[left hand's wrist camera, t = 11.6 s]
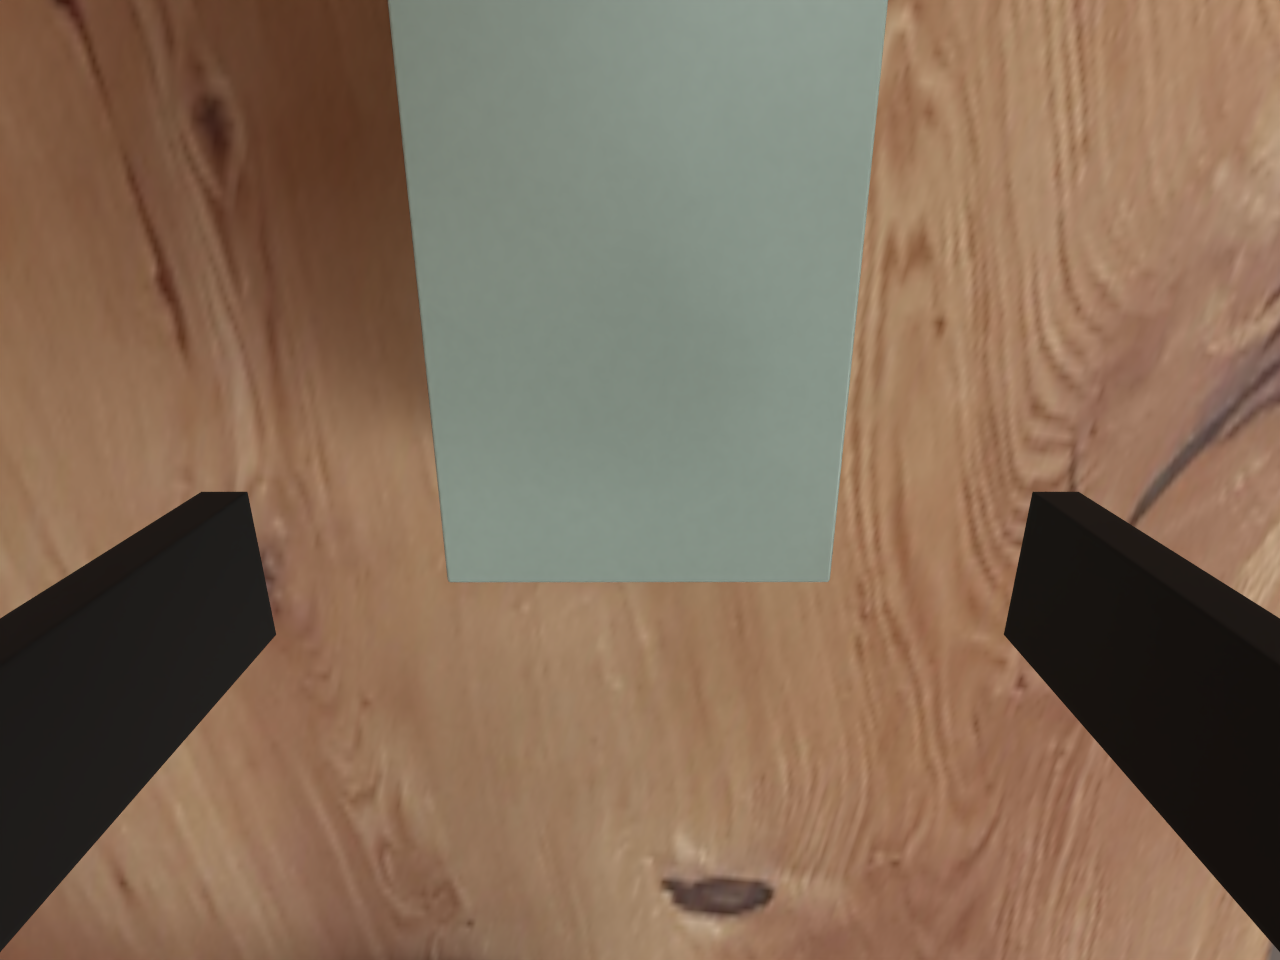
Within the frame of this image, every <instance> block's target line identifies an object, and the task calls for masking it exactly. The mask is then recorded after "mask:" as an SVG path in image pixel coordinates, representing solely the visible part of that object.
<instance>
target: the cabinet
mask: <svg viewBox="0 0 1280 960" xmlns="http://www.w3.org/2000/svg"><path fill="white" fill-rule="evenodd" d="M887 5H888V0H388V9H389V19H390V28H391V38H392V48H393V57H394V67H395V76H396V86H397V96H398V105H399V115H400V125H401V134H402V144H403V154H404V163H405V173H406V182H407V192H408V202H409V211H410V221H411V231H412V240H413V250H414V259H415V269H416V279H417V288H418V298H419V308H420V317H421V327H422V337H423V346H424V356H425V365H426V375H427V385H428V394H429V404H430V414H431V423H432V433H433V443H434V452H435V462H436V471H437V481H438V491H439V500H440V510H441V520H442V529H443V539H444V549H445V558H446V568H447V577H448V581H449V582H828V581H829V580H830V572H831V562H832V552H833V542H834V532H835V522H836V512H837V502H838V492H839V482H840V472H841V462H842V452H843V442H844V432H845V422H846V412H847V403H848V393H849V383H850V373H851V363H852V353H853V343H854V333H855V323H856V313H857V303H858V293H859V283H860V273H861V263H862V253H863V243H864V233H865V223H866V214H867V204H868V194H869V184H870V174H871V164H872V154H873V144H874V134H875V124H876V114H877V104H878V94H879V84H880V74H881V64H882V54H883V44H884V34H885V25H886V15H887Z"/></svg>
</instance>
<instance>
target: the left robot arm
mask: <svg viewBox="0 0 1280 960" xmlns="http://www.w3.org/2000/svg"><path fill="white" fill-rule="evenodd" d="M275 635H276V632H275V627H274V622H273V617H272V612H271V607H270V602H269V597H268V592H267V587H266V582H265V577H264V572H263V567H262V562H261V557H260V552H259V547H258V542H257V538H256V533H255V528H254V523H253V518H252V513H251V508H250V503H249V498H248V493H247V492H201V493H199V494H197V495H196V496H194V497H193V498H191V499H189V500H188V501H186V502H185V503H183V504H181V505H180V506H178V507H177V508H175V509H174V510H172V511H170V512H169V513H167V514H166V515H164V516H162V517H161V518H159V519H158V520H156V521H154V522H153V523H151V524H150V525H148V526H147V527H145V528H143V529H142V530H140V531H139V532H137V533H135V534H134V535H132V536H131V537H129V538H127V539H126V540H124V541H123V542H121V543H120V544H118V545H116V546H115V547H113V548H112V549H110V550H108V551H107V552H105V553H104V554H102V555H100V556H99V557H97V558H96V559H94V560H92V561H91V562H89V563H88V564H86V565H85V566H83V567H81V568H80V569H78V570H77V571H75V572H73V573H72V574H70V575H69V576H67V577H65V578H64V579H62V580H61V581H59V582H58V583H56V584H54V585H53V586H51V587H50V588H48V589H46V590H45V591H43V592H42V593H40V594H38V595H37V596H35V597H34V598H32V599H31V600H29V601H27V602H26V603H24V604H23V605H21V606H19V607H18V608H16V609H15V610H13V611H11V612H10V613H8V614H7V615H5V616H4V617H2V618H0V952H1V950H2V949H3V948H4V947H5V946H6V945H7V943H8V942H9V941H10V940H11V939H12V938H13V937H14V935H15V934H16V933H17V932H18V931H19V930H20V929H21V927H22V926H23V925H24V924H25V923H26V922H27V920H28V919H29V918H30V917H31V916H32V915H33V914H34V912H35V911H36V910H37V909H38V908H39V907H40V906H41V904H42V903H43V902H44V901H45V900H46V899H47V897H48V896H49V895H50V894H51V893H52V892H53V891H54V889H55V888H56V887H57V886H58V885H59V884H60V883H61V881H62V880H63V879H64V878H65V877H66V876H67V874H68V873H69V872H70V871H71V870H72V869H73V868H74V866H75V865H76V864H77V863H78V862H79V861H80V860H81V858H82V857H83V856H84V855H85V854H86V853H87V851H88V850H89V849H90V848H91V847H92V846H93V845H94V843H95V842H96V841H97V840H98V839H99V838H100V837H101V835H102V834H103V833H104V832H105V831H106V830H107V828H108V827H109V826H110V825H111V824H112V823H113V822H114V820H115V819H116V818H117V817H118V816H119V815H120V814H121V812H122V811H123V810H124V809H125V808H126V807H127V805H128V804H129V803H130V802H131V801H132V800H133V799H134V797H135V796H136V795H137V794H138V793H139V792H140V791H141V789H142V788H143V787H144V786H145V785H146V784H147V782H148V781H149V780H150V779H151V778H152V777H153V776H154V774H155V773H156V772H157V771H158V770H159V769H160V768H161V766H162V765H163V764H164V763H165V762H166V761H167V759H168V758H169V757H170V756H171V755H172V754H173V753H174V751H175V750H176V749H177V748H178V747H179V746H180V744H181V743H182V742H183V741H184V740H185V739H186V738H187V736H188V735H189V734H190V733H191V732H192V731H193V730H194V728H195V727H196V726H197V725H198V724H199V723H200V721H201V720H202V719H203V718H204V717H205V716H206V715H207V713H208V712H209V711H210V710H211V709H212V708H213V707H214V705H215V704H216V703H217V702H218V701H219V700H220V698H221V697H222V696H223V695H224V694H225V693H226V692H227V690H228V689H229V688H230V687H231V686H232V685H233V684H234V682H235V681H236V680H237V679H238V678H239V677H240V675H241V674H242V673H243V672H244V671H245V670H246V669H247V667H248V666H249V665H250V664H251V663H252V662H253V661H254V659H255V658H256V657H257V656H258V655H259V654H260V652H261V651H262V650H263V649H264V648H265V647H266V646H267V644H268V643H269V642H270V641H271V640H272V639H273V638H274V636H275ZM1004 635H1005V636H1006V638H1007V639H1008V640H1009V641H1010V642H1011V643H1012V644H1013V646H1014V647H1015V648H1016V649H1017V650H1018V651H1019V652H1020V654H1021V655H1022V656H1023V657H1024V658H1025V659H1026V661H1027V662H1028V663H1029V664H1030V665H1031V666H1032V667H1033V669H1034V670H1035V671H1036V672H1037V673H1038V674H1039V675H1040V677H1041V678H1042V679H1043V680H1044V681H1045V682H1046V684H1047V685H1048V686H1049V687H1050V688H1051V689H1052V690H1053V692H1054V693H1055V694H1056V695H1057V696H1058V697H1059V698H1060V700H1061V701H1062V702H1063V703H1064V704H1065V705H1066V707H1067V708H1068V709H1069V710H1070V711H1071V712H1072V713H1073V715H1074V716H1075V717H1076V718H1077V719H1078V720H1079V721H1080V723H1081V724H1082V725H1083V726H1084V727H1085V728H1086V730H1087V731H1088V732H1089V733H1090V734H1091V735H1092V736H1093V738H1094V739H1095V740H1096V741H1097V742H1098V743H1099V744H1100V746H1101V747H1102V748H1103V749H1104V750H1105V751H1106V753H1107V754H1108V755H1109V756H1110V757H1111V758H1112V759H1113V761H1114V762H1115V763H1116V764H1117V765H1118V766H1119V768H1120V769H1121V770H1122V771H1123V772H1124V773H1125V774H1126V776H1127V777H1128V778H1129V779H1130V780H1131V781H1132V782H1133V784H1134V785H1135V786H1136V787H1137V788H1138V789H1139V791H1140V792H1141V793H1142V794H1143V795H1144V796H1145V797H1146V799H1147V800H1148V801H1149V802H1150V803H1151V804H1152V805H1153V807H1154V808H1155V809H1156V810H1157V811H1158V812H1159V814H1160V815H1161V816H1162V817H1163V818H1164V819H1165V820H1166V822H1167V823H1168V824H1169V825H1170V826H1171V827H1172V828H1173V830H1174V831H1175V832H1176V833H1177V834H1178V835H1179V837H1180V838H1181V839H1182V840H1183V841H1184V842H1185V843H1186V845H1187V846H1188V847H1189V848H1190V849H1191V850H1192V851H1193V853H1194V854H1195V855H1196V856H1197V857H1198V858H1199V860H1200V861H1201V862H1202V863H1203V864H1204V865H1205V866H1206V868H1207V869H1208V870H1209V871H1210V872H1211V873H1212V874H1213V876H1214V877H1215V878H1216V879H1217V880H1218V881H1219V883H1220V884H1221V885H1222V886H1223V887H1224V888H1225V889H1226V891H1227V892H1228V893H1229V894H1230V895H1231V896H1232V897H1233V899H1234V900H1235V901H1236V902H1237V903H1238V904H1239V906H1240V907H1241V908H1242V909H1243V910H1244V911H1245V912H1246V914H1247V915H1248V916H1249V917H1250V918H1251V919H1252V920H1253V922H1254V923H1255V924H1256V925H1257V926H1258V927H1259V929H1260V930H1261V931H1262V932H1263V933H1264V934H1265V935H1266V937H1267V938H1268V939H1269V940H1270V941H1271V942H1272V944H1273V945H1274V946H1275V947H1276V948H1277V949H1278V950H1279V952H1280V618H1278V617H1276V616H1275V615H1273V614H1272V613H1270V612H1269V611H1267V610H1265V609H1264V608H1262V607H1261V606H1259V605H1257V604H1256V603H1254V602H1253V601H1251V600H1249V599H1248V598H1246V597H1245V596H1243V595H1242V594H1240V593H1238V592H1237V591H1235V590H1234V589H1232V588H1230V587H1229V586H1227V585H1226V584H1224V583H1222V582H1221V581H1219V580H1218V579H1216V578H1215V577H1213V576H1211V575H1210V574H1208V573H1207V572H1205V571H1203V570H1202V569H1200V568H1199V567H1197V566H1195V565H1194V564H1192V563H1191V562H1189V561H1188V560H1186V559H1184V558H1183V557H1181V556H1180V555H1178V554H1176V553H1175V552H1173V551H1172V550H1170V549H1168V548H1167V547H1165V546H1164V545H1162V544H1160V543H1159V542H1157V541H1156V540H1154V539H1153V538H1151V537H1149V536H1148V535H1146V534H1145V533H1143V532H1141V531H1140V530H1138V529H1137V528H1135V527H1133V526H1132V525H1130V524H1129V523H1127V522H1126V521H1124V520H1122V519H1121V518H1119V517H1118V516H1116V515H1114V514H1113V513H1111V512H1110V511H1108V510H1106V509H1105V508H1103V507H1102V506H1100V505H1099V504H1097V503H1095V502H1094V501H1092V500H1091V499H1089V498H1087V497H1086V496H1084V495H1083V494H1081V493H1079V492H1033V493H1032V498H1031V503H1030V508H1029V513H1028V518H1027V523H1026V528H1025V533H1024V538H1023V542H1022V547H1021V552H1020V557H1019V562H1018V567H1017V572H1016V577H1015V582H1014V587H1013V592H1012V597H1011V602H1010V607H1009V612H1008V617H1007V622H1006V627H1005V632H1004Z"/></svg>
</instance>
